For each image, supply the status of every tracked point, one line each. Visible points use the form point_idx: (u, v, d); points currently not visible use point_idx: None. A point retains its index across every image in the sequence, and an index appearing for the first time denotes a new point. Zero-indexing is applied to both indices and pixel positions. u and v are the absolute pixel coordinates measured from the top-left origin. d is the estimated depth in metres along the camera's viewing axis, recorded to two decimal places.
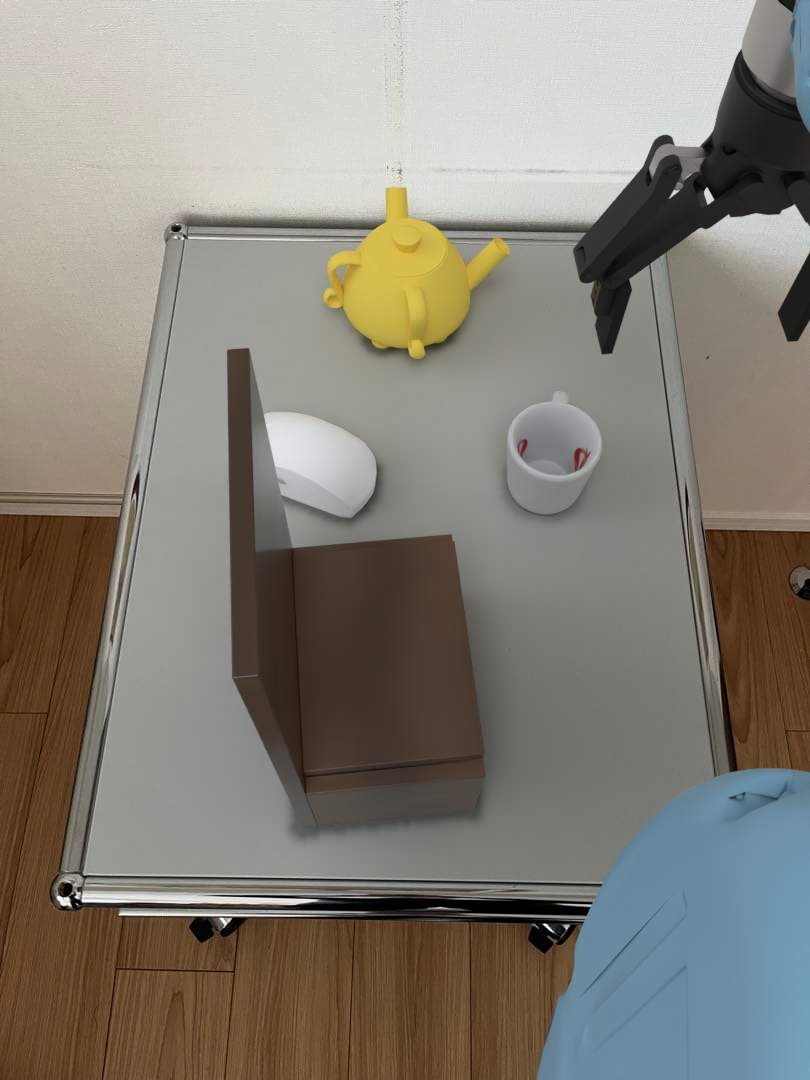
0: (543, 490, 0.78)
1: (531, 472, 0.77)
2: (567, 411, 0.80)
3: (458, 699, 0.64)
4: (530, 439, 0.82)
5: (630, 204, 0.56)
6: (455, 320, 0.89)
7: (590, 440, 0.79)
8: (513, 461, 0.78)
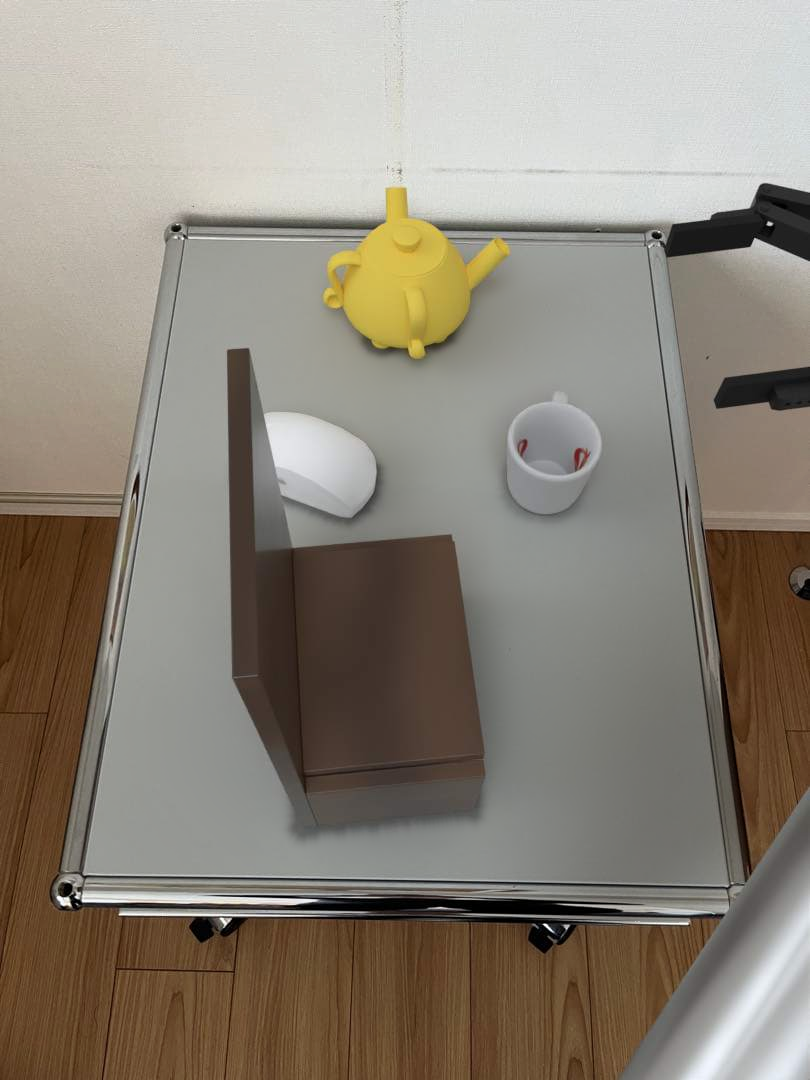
0: (543, 490, 0.78)
1: (531, 472, 0.77)
2: (567, 411, 0.80)
3: (458, 699, 0.64)
4: (530, 439, 0.82)
5: None
6: (455, 320, 0.89)
7: (590, 440, 0.79)
8: (513, 461, 0.78)
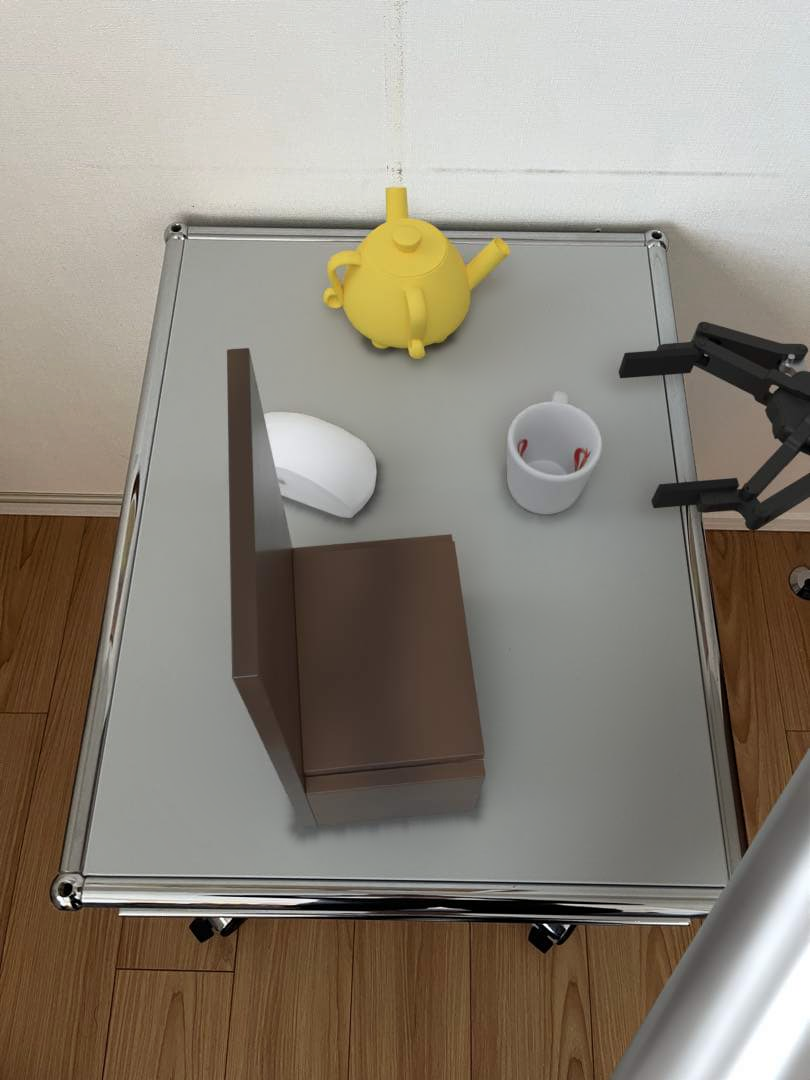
0: (543, 490, 0.78)
1: (531, 472, 0.77)
2: (567, 411, 0.80)
3: (458, 699, 0.64)
4: (530, 439, 0.82)
5: None
6: (455, 320, 0.89)
7: (590, 440, 0.79)
8: (513, 461, 0.78)
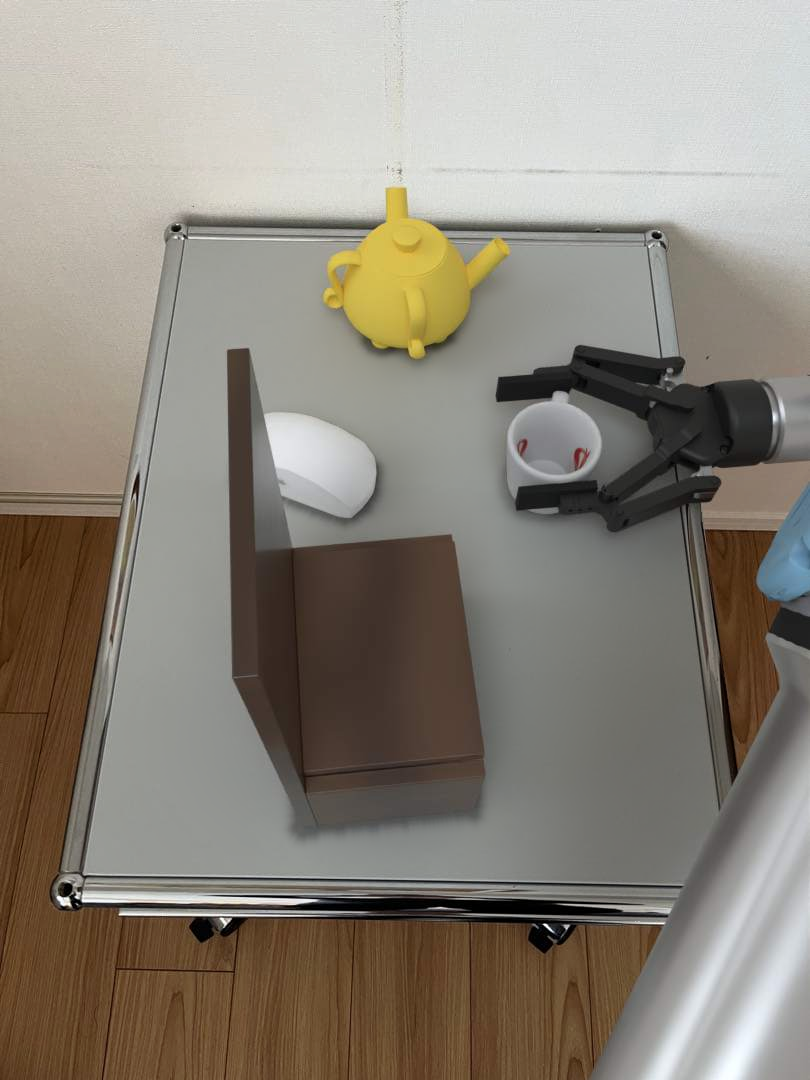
0: None
1: (531, 472, 0.77)
2: (567, 411, 0.80)
3: (458, 699, 0.64)
4: (530, 439, 0.82)
5: None
6: (455, 320, 0.89)
7: (590, 440, 0.79)
8: (513, 461, 0.78)
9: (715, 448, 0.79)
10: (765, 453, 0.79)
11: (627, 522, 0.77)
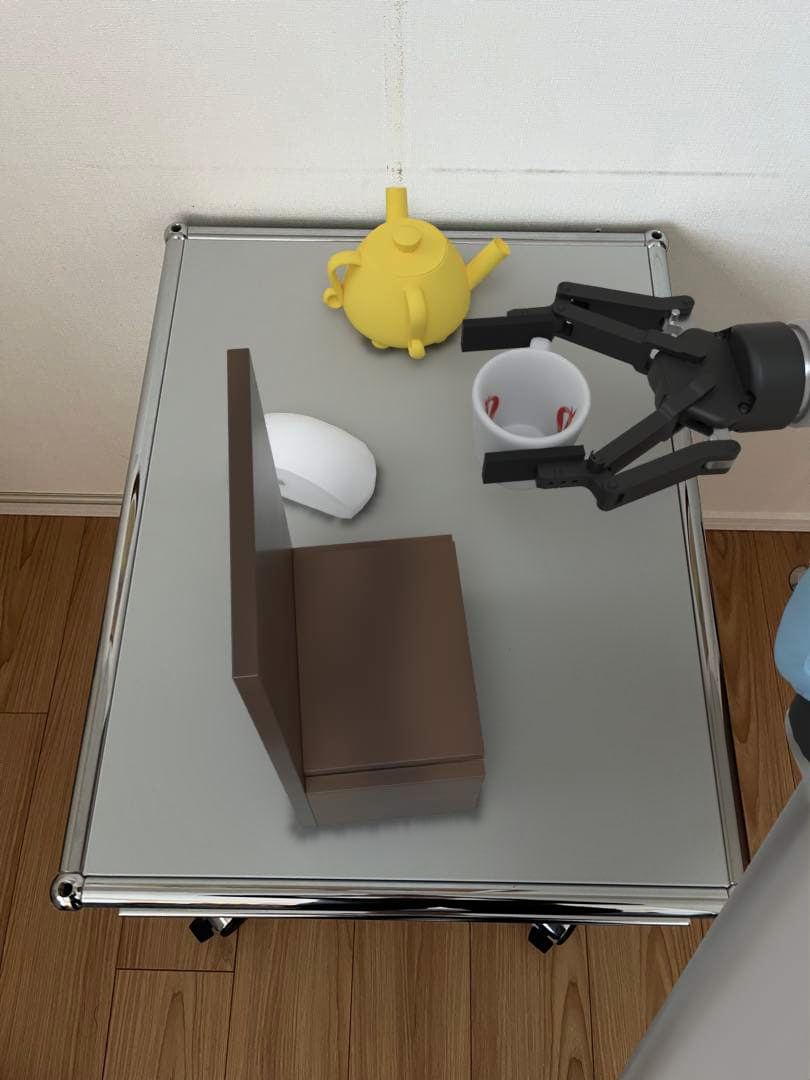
0: None
1: (501, 434, 0.61)
2: (547, 360, 0.64)
3: (458, 699, 0.64)
4: (502, 397, 0.66)
5: None
6: (455, 320, 0.89)
7: (576, 396, 0.63)
8: (479, 421, 0.62)
9: (732, 406, 0.63)
10: (795, 413, 0.63)
11: (622, 498, 0.61)
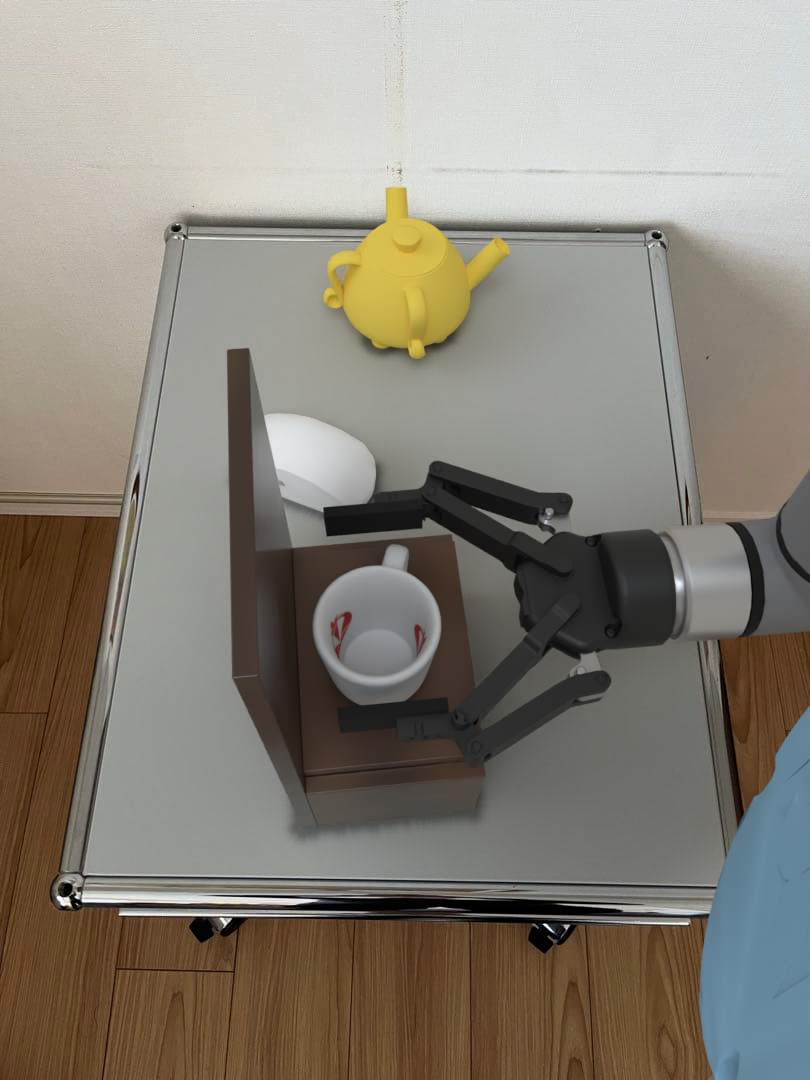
0: (361, 691, 0.58)
1: (339, 672, 0.56)
2: (398, 579, 0.59)
3: (458, 699, 0.64)
4: (355, 610, 0.62)
5: None
6: (455, 320, 0.89)
7: (427, 621, 0.58)
8: None
9: (598, 630, 0.58)
10: (667, 635, 0.58)
11: (490, 754, 0.55)
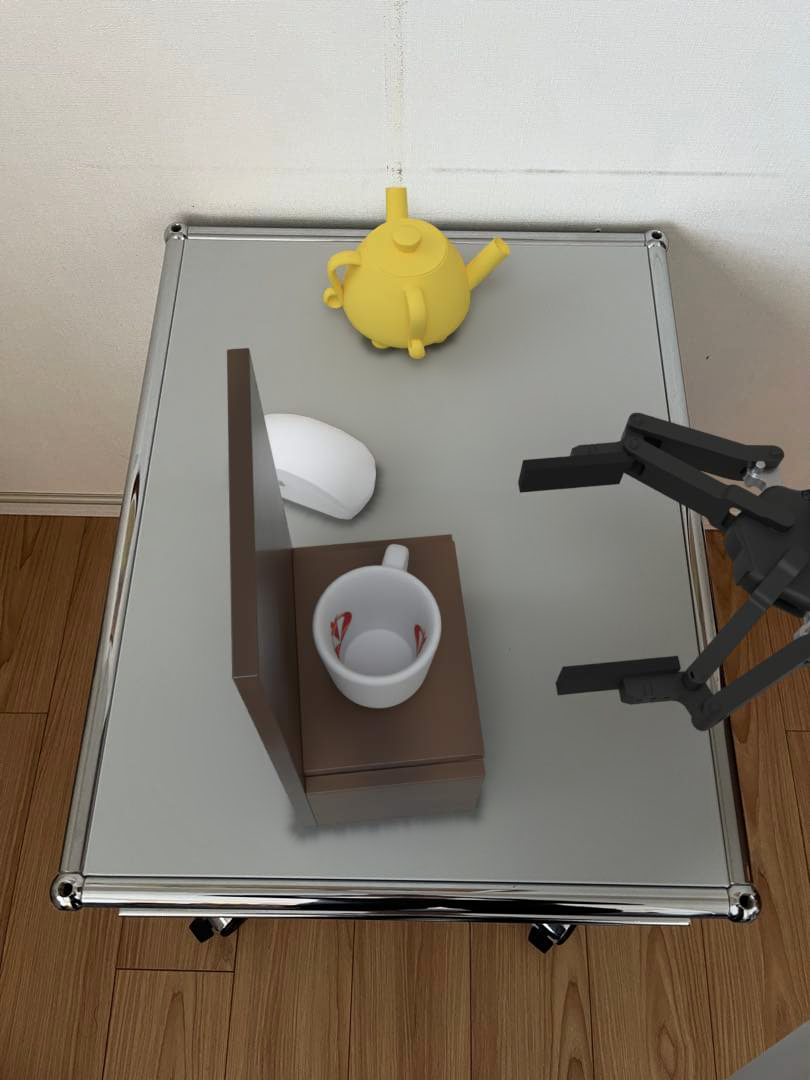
0: (361, 691, 0.58)
1: (339, 672, 0.56)
2: (398, 579, 0.59)
3: (458, 699, 0.64)
4: (355, 610, 0.62)
5: None
6: (455, 320, 0.89)
7: (427, 621, 0.58)
8: None
9: None
10: None
11: (723, 716, 0.52)
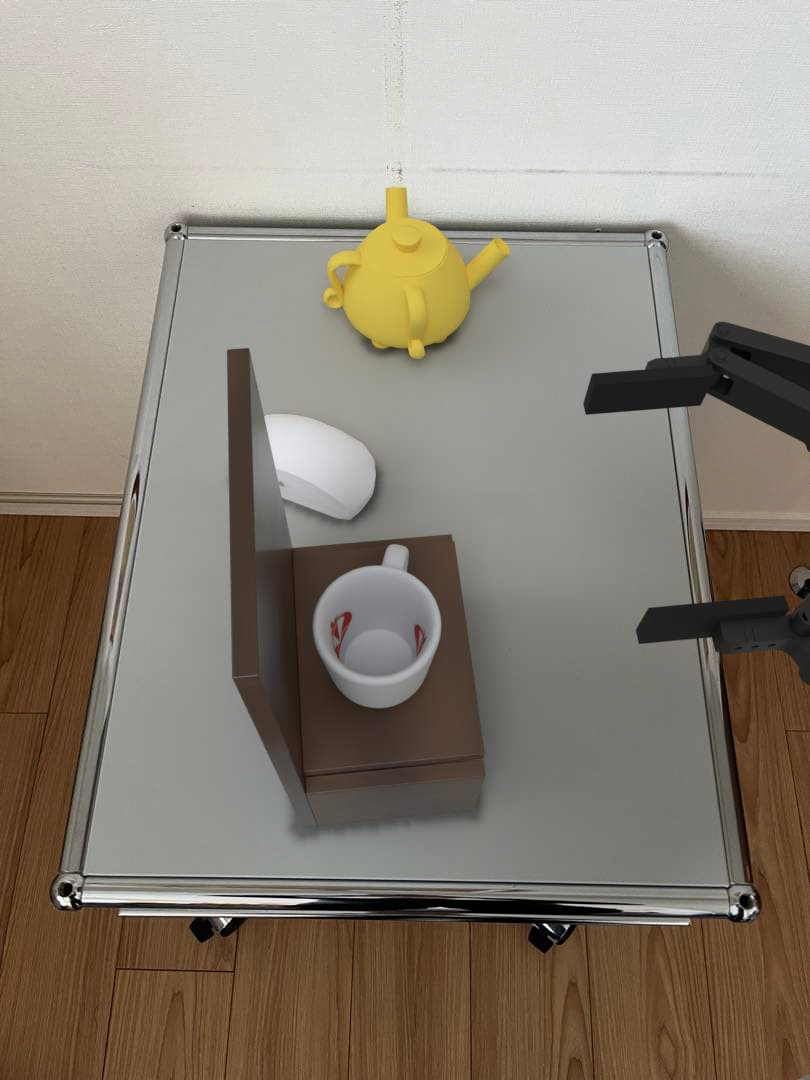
0: (361, 691, 0.58)
1: (339, 672, 0.56)
2: (398, 579, 0.59)
3: (458, 699, 0.64)
4: (355, 610, 0.62)
5: None
6: (455, 320, 0.89)
7: (427, 621, 0.58)
8: None
9: None
10: None
11: None
